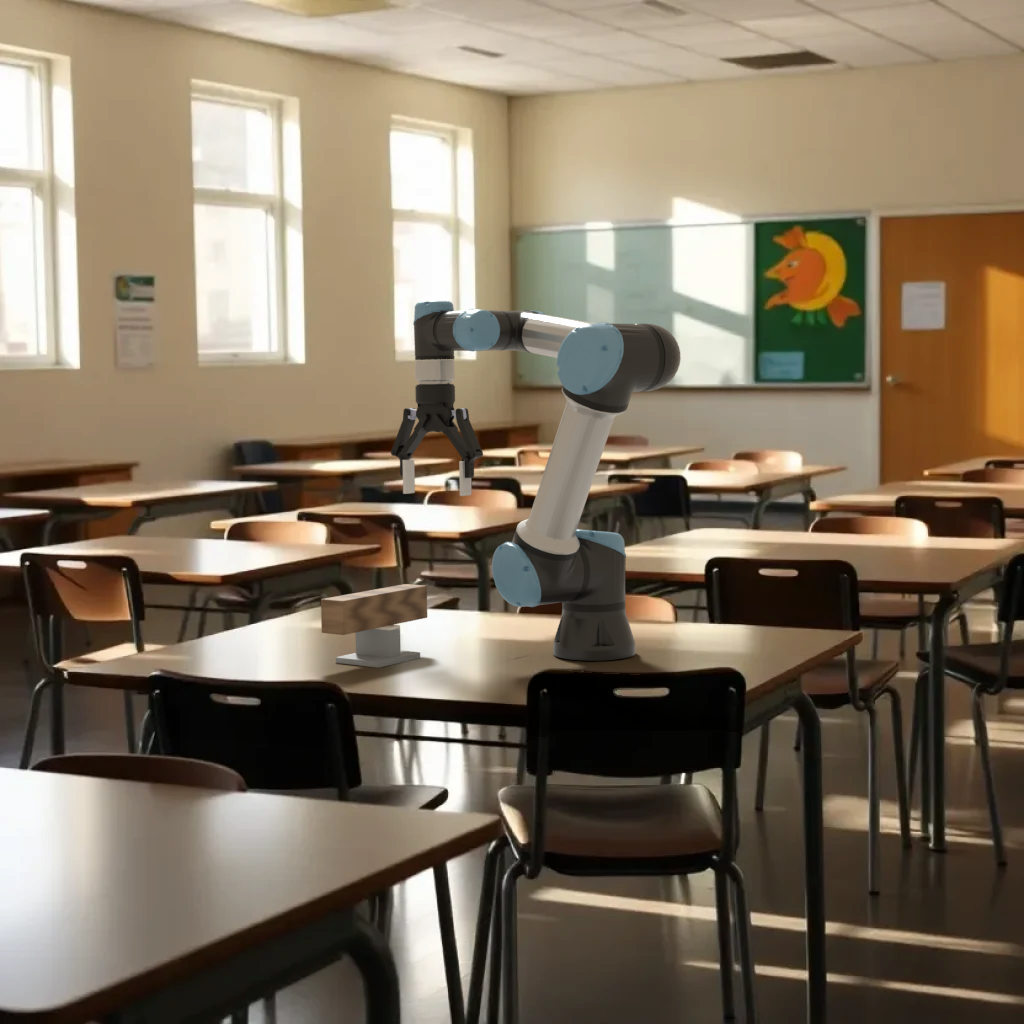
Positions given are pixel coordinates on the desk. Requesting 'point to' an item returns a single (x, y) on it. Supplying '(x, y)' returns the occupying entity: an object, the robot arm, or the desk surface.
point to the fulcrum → (378, 648)
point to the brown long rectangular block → (373, 609)
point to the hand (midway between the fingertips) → (437, 494)
